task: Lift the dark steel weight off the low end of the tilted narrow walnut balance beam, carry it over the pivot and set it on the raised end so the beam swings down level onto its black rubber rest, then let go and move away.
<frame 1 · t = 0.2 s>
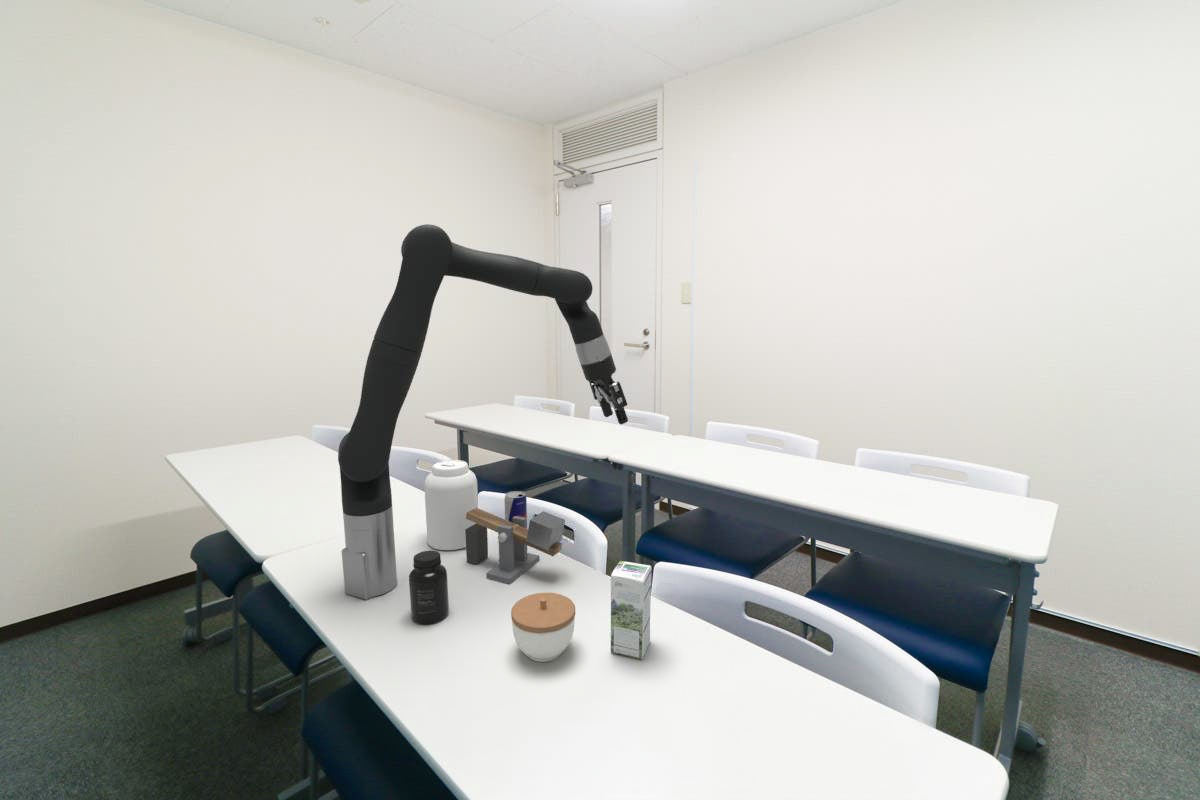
hand: (616, 419, 130), 31 cm above the table, tool tilted 20°, fingers open, 8 cm apart
steel weight: (544, 540, 116), point 8 cm above the table, tilted 11°, touching beam
lidded jar: (544, 651, 92), on the table
energy drink: (516, 540, 135), on the table
stand: (513, 569, 120), on the table
white protein powder tub: (453, 541, 135), on the table
syrup box: (630, 648, 93), on the table
beam: (512, 530, 119), point 9 cm above the table, hinge at 11.0°, touching steel weight
supplement bottle: (430, 615, 102), on the table
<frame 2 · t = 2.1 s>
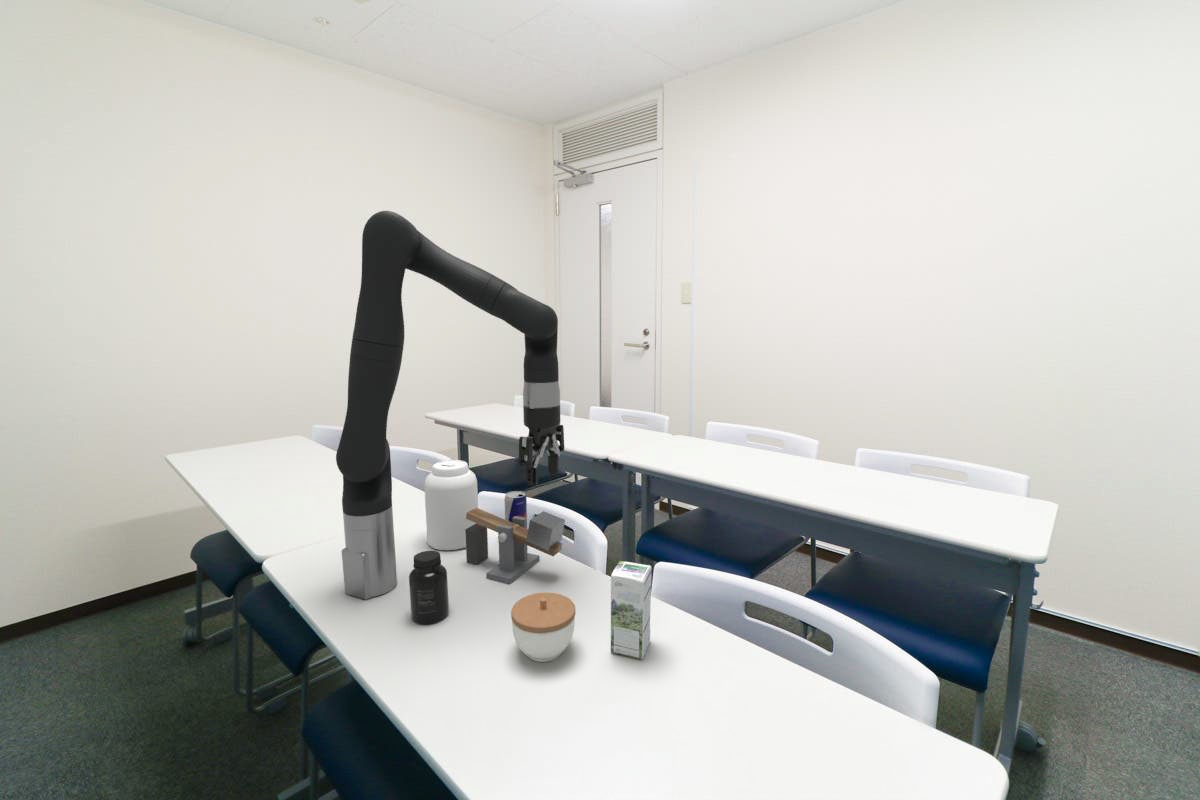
hand: (543, 478, 113), 22 cm above the table, tool pointing down, fingers open, 8 cm apart
nothing on the table moved.
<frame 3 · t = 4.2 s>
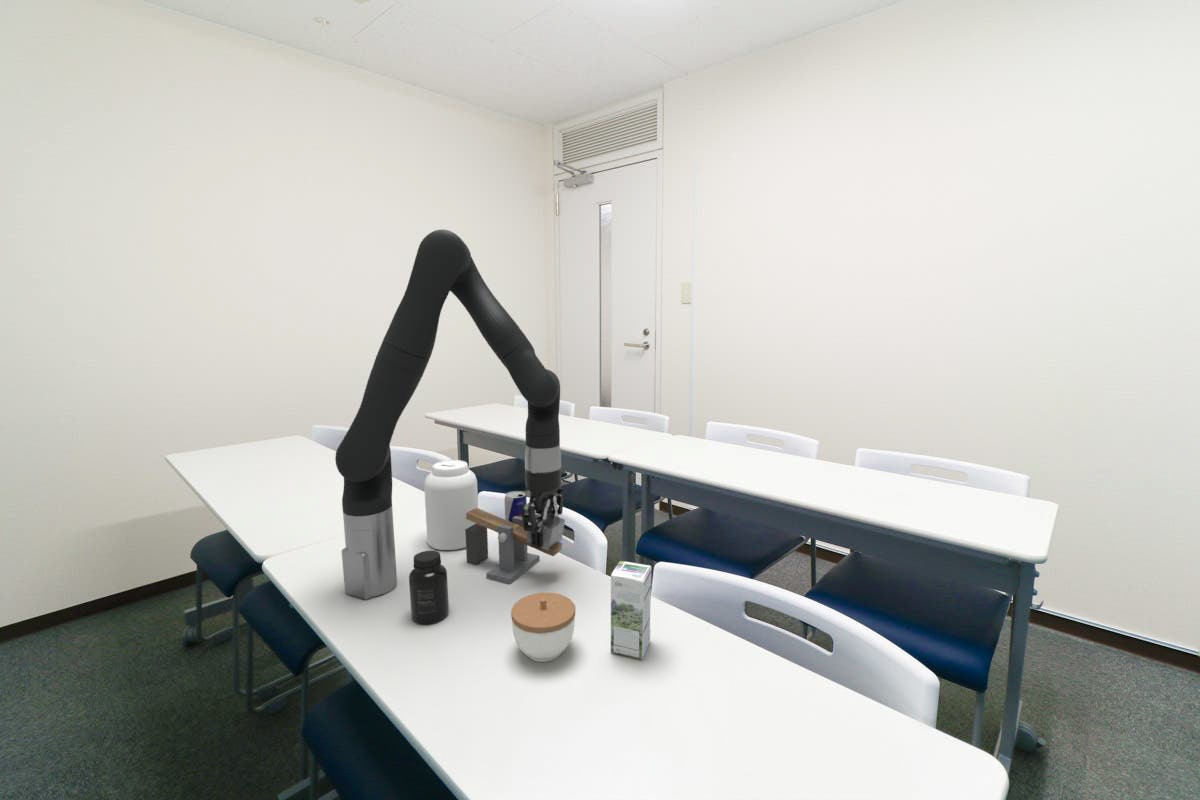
hand: (544, 541, 115), 8 cm above the table, tool pointing down, fingers closed on steel weight, 5 cm apart
steel weight: (544, 540, 116), point 8 cm above the table, tilted 11°, touching beam, gripper
everything else where it was.
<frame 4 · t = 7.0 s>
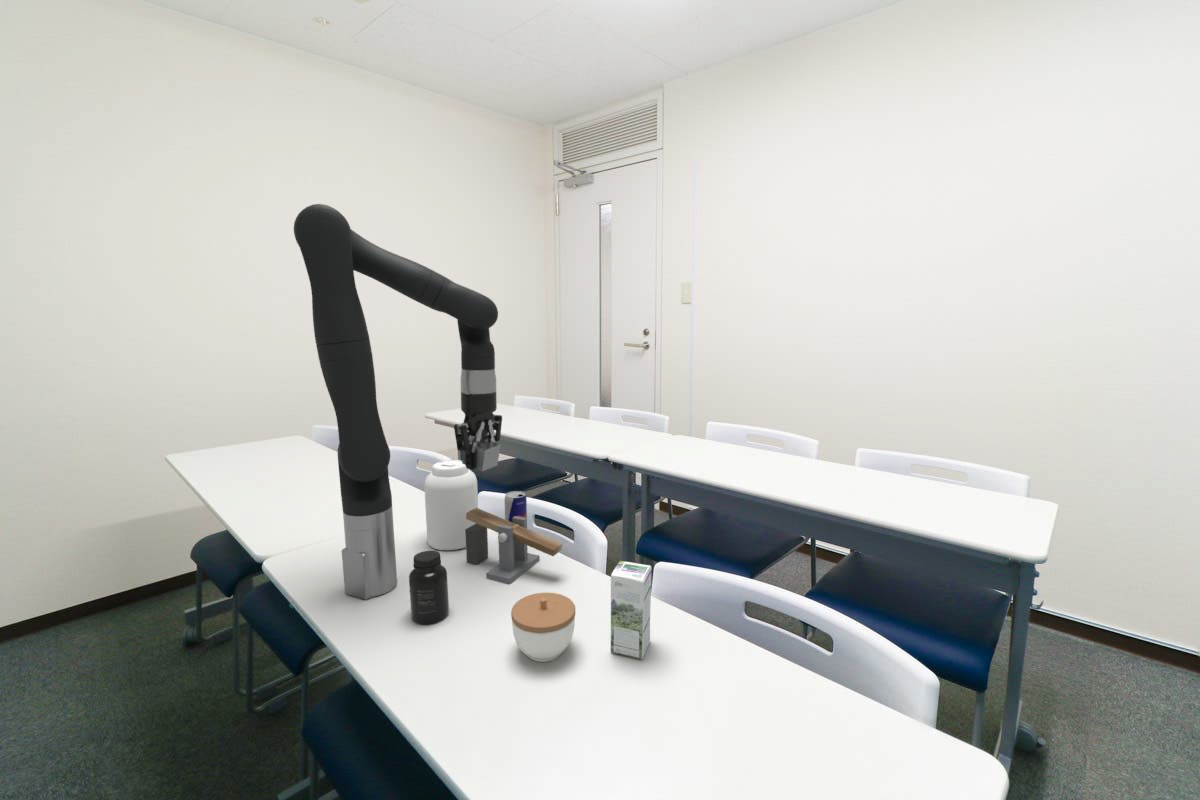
hand: (479, 465, 119), 23 cm above the table, tool pointing down, fingers closed on steel weight, 5 cm apart
steel weight: (479, 464, 119), point 23 cm above the table, tilted 12°, touching gripper
beam: (512, 530, 119), point 9 cm above the table, hinge at 10.9°
everything else where it was.
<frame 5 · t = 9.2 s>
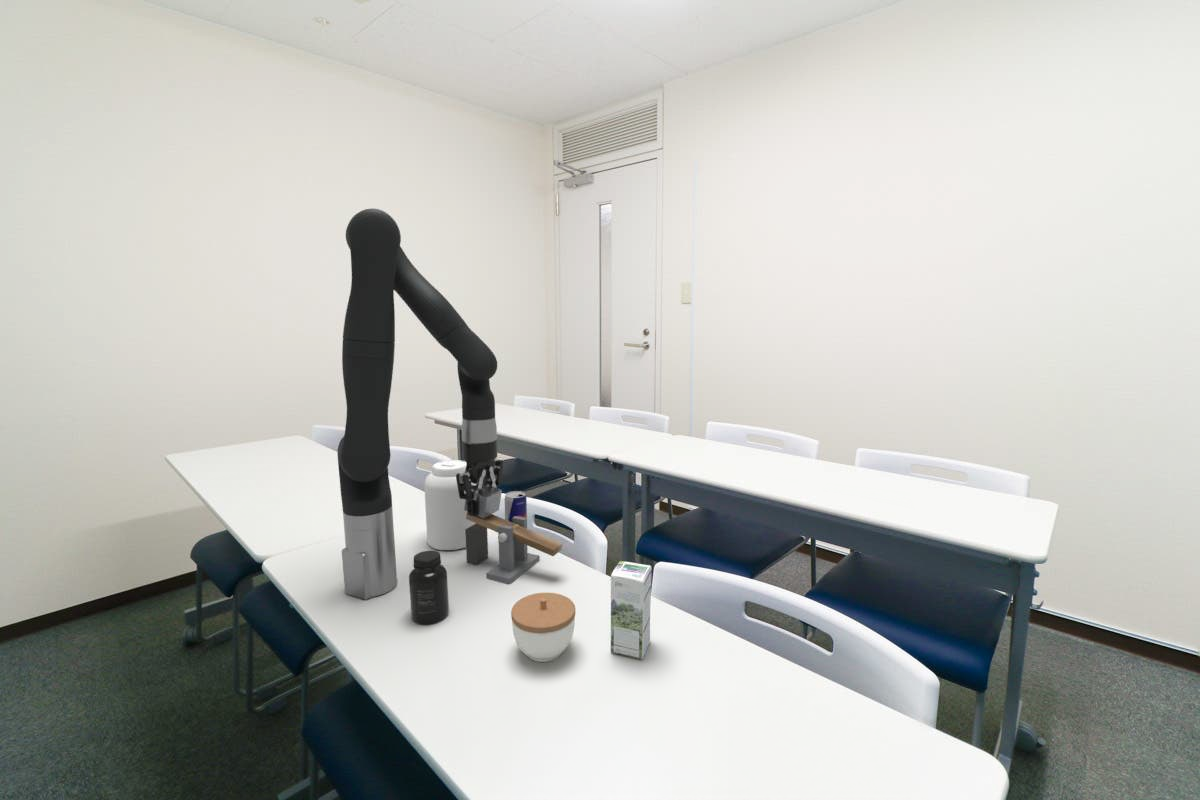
hand: (481, 510, 121), 12 cm above the table, tool pointing down, fingers closed on steel weight, 5 cm apart
steel weight: (481, 509, 121), point 13 cm above the table, tilted 11°, touching gripper
everything else where it was.
when the fingers open (12 cm above the table, at t = 10.0 s): steel weight drops 3 cm, resting on beam.
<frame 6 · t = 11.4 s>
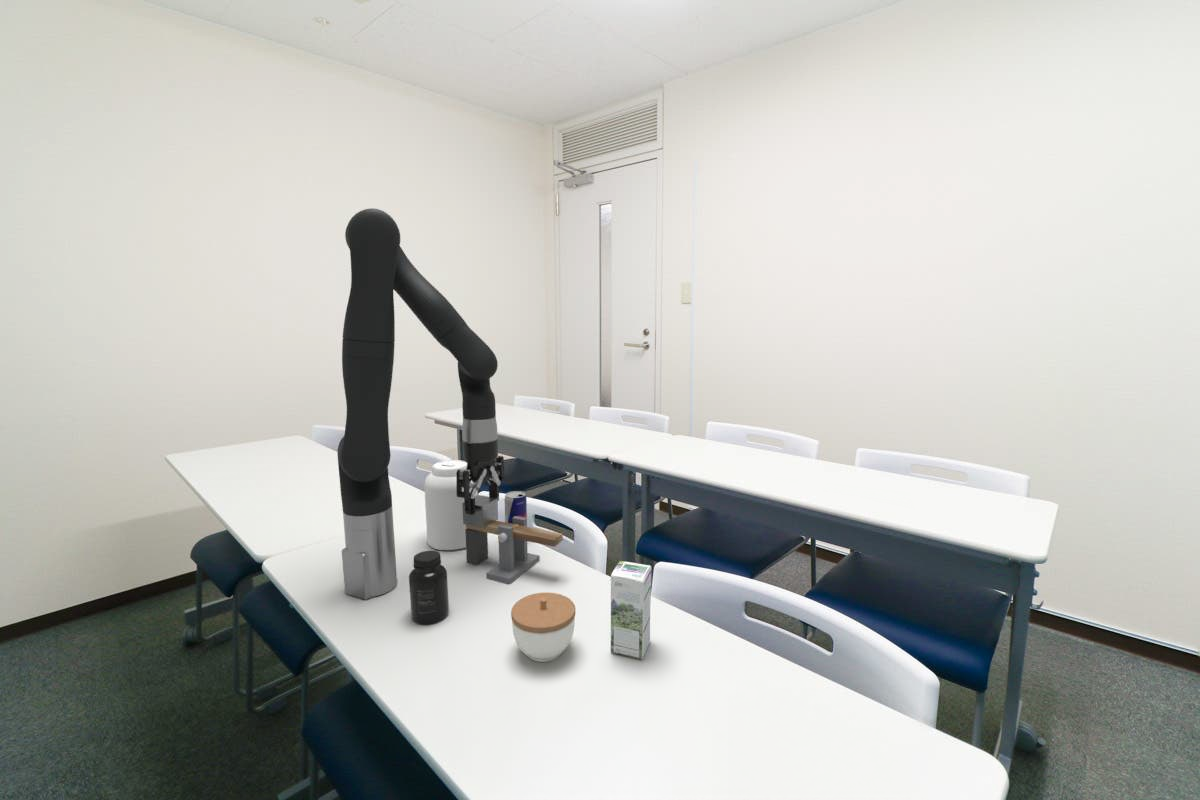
hand: (482, 507, 121), 13 cm above the table, tool pointing down, fingers open, 8 cm apart
steel weight: (480, 521, 122), point 10 cm above the table, touching beam
beam: (512, 530, 119), point 9 cm above the table, hinge at -0.3°, touching steel weight
everything else where it was.
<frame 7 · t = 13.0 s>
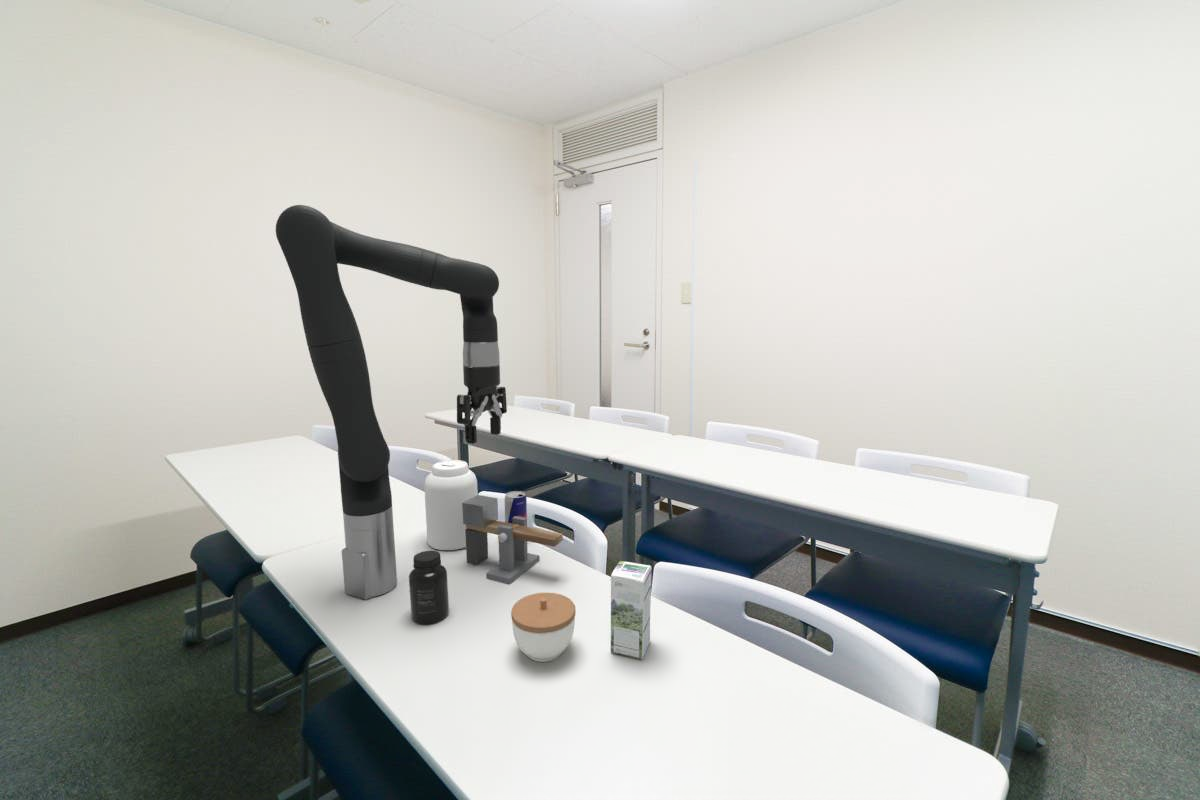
hand: (483, 438, 116), 30 cm above the table, tool pointing down, fingers open, 8 cm apart
nothing on the table moved.
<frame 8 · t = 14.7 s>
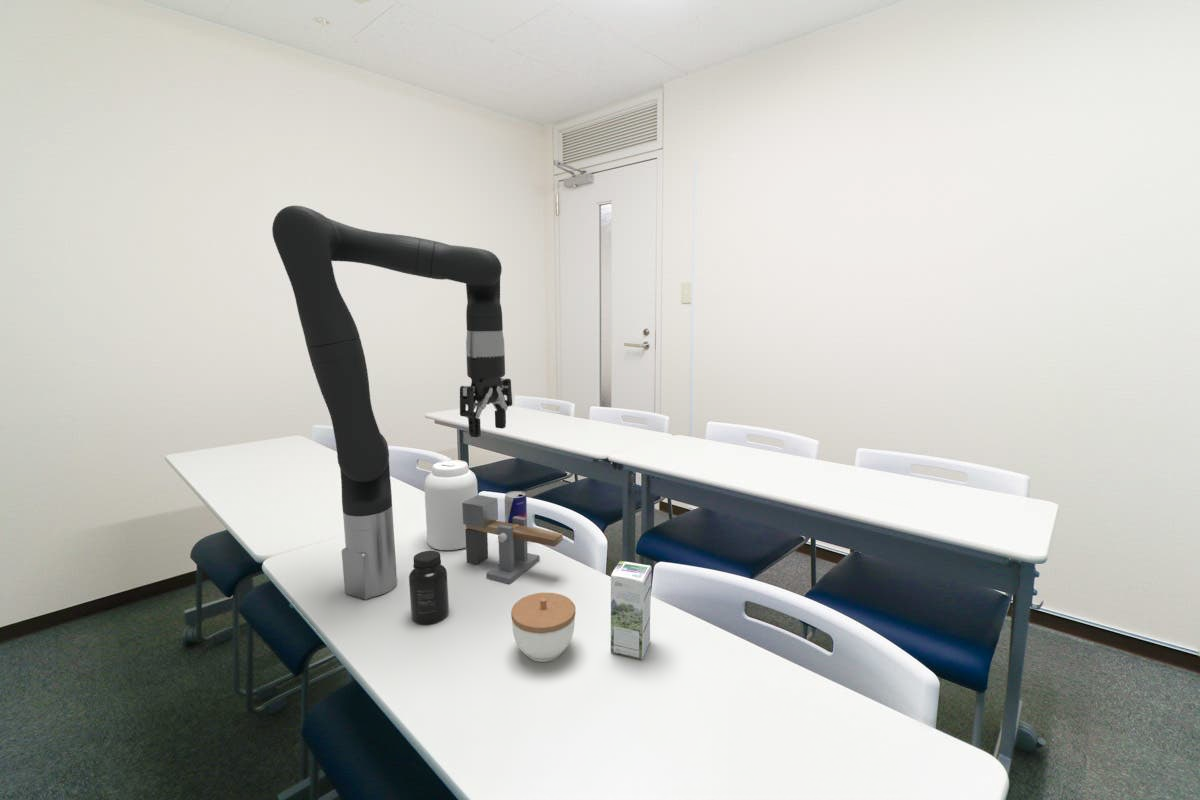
hand: (488, 432, 111), 32 cm above the table, tool pointing down, fingers open, 8 cm apart
nothing on the table moved.
at the end: beam at +0° (first picture: +11°); steel weight 0.5 cm from the target spot on the beam, point 0.7 cm above the beam's base; the gripper is holding nothing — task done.
